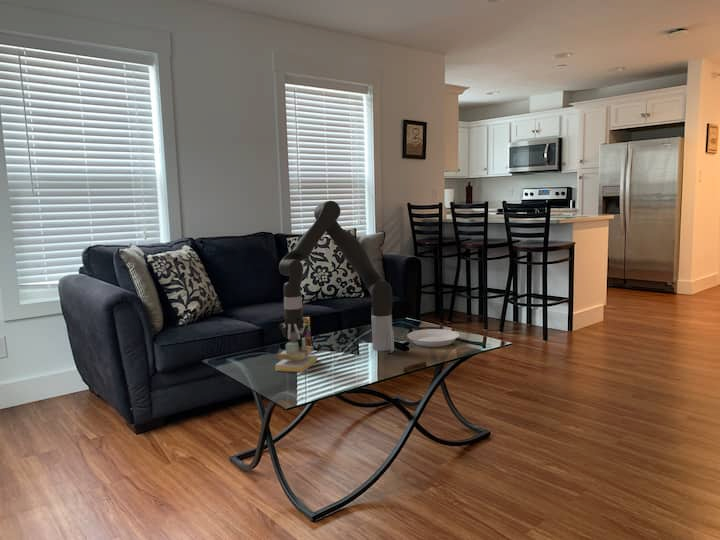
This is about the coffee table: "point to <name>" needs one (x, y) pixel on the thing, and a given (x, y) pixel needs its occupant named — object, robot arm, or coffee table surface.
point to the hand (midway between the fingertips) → (295, 347)
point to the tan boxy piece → (298, 355)
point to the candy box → (308, 337)
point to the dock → (296, 364)
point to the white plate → (433, 337)
